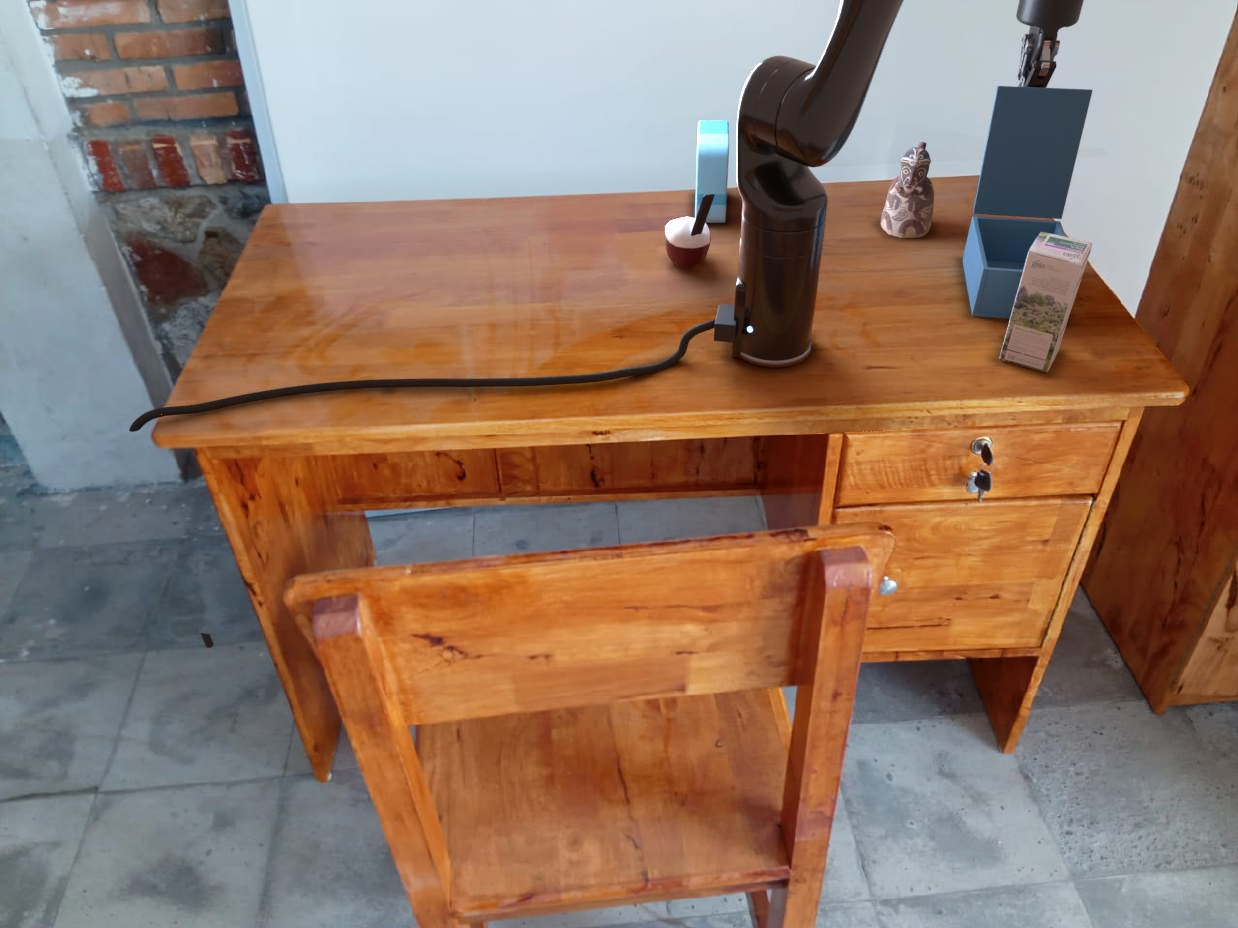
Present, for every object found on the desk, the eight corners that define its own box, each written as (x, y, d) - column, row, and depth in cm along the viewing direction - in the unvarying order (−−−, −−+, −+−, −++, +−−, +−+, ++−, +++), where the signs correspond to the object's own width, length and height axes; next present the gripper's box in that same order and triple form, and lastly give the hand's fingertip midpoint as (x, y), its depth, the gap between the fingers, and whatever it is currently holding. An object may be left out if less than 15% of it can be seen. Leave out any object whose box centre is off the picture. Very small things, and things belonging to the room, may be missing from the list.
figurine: (872, 230, 140) (884, 150, 132) (891, 213, 144) (904, 134, 137) (919, 242, 137) (934, 160, 129) (937, 224, 141) (953, 144, 134)
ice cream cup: (662, 248, 137) (663, 167, 129) (706, 247, 137) (709, 166, 129) (668, 280, 130) (668, 197, 122) (714, 279, 130) (717, 195, 122)
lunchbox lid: (1092, 90, 118) (1091, 89, 118) (998, 86, 120) (997, 85, 120) (1061, 219, 126) (1060, 218, 126) (973, 214, 128) (972, 212, 128)
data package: (725, 226, 142) (729, 147, 134) (694, 226, 142) (697, 147, 135) (724, 193, 151) (728, 117, 144) (696, 193, 152) (698, 117, 144)
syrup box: (1059, 351, 114) (1095, 239, 105) (1047, 375, 110) (1082, 261, 101) (1010, 338, 117) (1041, 228, 107) (996, 361, 113) (1027, 249, 104)
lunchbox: (1065, 323, 119) (1080, 275, 115) (971, 316, 121) (983, 269, 117) (1047, 266, 130) (1060, 221, 126) (962, 260, 132) (972, 215, 128)
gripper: (1017, -32, 125) (988, 102, 136) (1031, -6, 115) (998, 136, 126) (1078, -31, 123) (1044, 104, 134) (1097, -5, 113) (1058, 139, 124)
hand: (1022, 120), depth 130 cm, fingers closed
